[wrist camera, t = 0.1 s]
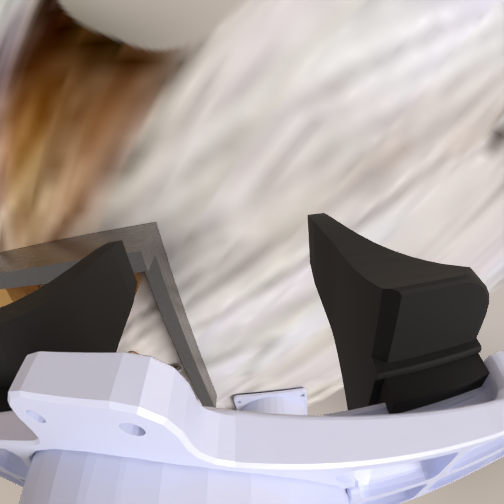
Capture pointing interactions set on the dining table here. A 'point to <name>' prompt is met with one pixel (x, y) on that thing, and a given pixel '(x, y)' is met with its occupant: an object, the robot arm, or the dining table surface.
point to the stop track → (142, 260)
